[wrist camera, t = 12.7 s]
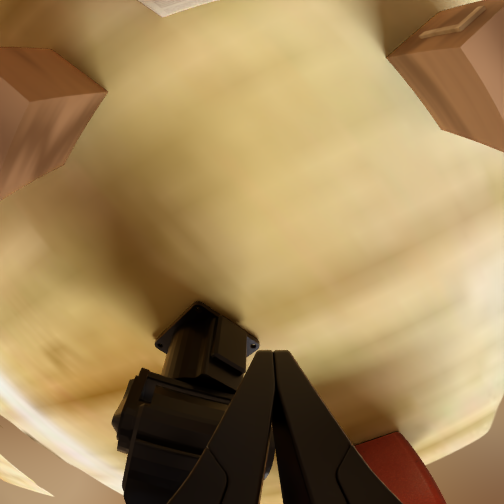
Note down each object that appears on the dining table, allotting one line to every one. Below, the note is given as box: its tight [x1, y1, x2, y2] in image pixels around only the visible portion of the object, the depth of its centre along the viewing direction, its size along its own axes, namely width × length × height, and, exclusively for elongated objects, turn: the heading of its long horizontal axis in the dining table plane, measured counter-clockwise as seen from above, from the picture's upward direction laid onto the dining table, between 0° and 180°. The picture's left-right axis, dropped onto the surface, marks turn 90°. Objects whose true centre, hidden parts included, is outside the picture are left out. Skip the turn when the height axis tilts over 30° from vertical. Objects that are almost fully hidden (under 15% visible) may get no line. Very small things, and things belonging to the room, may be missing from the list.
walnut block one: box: [0, 47, 108, 201], centre depth 13 cm, size 6×6×8 cm
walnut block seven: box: [386, 0, 504, 152], centre depth 11 cm, size 6×6×8 cm
